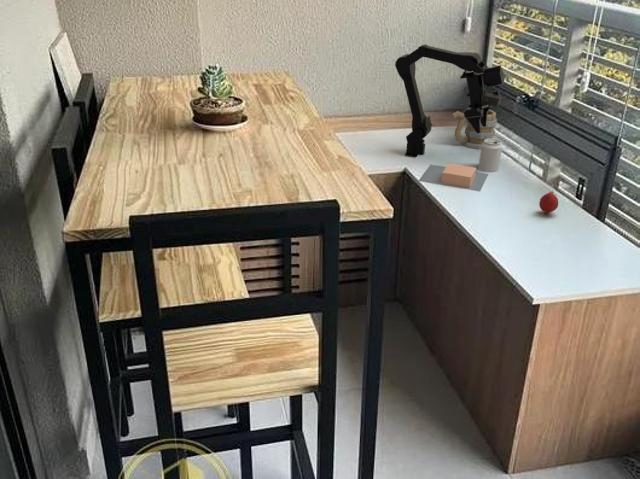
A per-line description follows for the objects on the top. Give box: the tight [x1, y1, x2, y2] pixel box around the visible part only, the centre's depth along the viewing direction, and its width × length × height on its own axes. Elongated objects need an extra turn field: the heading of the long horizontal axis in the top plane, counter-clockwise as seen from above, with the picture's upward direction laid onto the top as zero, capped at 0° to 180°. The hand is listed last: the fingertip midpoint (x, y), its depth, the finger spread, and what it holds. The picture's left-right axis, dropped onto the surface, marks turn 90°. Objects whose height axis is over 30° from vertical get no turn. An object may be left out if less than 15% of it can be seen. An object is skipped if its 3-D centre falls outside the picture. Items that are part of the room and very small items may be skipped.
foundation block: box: [441, 163, 477, 188], centre depth 231 cm, size 10×10×4 cm
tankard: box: [451, 109, 498, 150], centre depth 266 cm, size 20×13×15 cm, turn 104°
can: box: [478, 138, 503, 173], centre depth 241 cm, size 8×8×12 cm
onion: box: [538, 190, 559, 215], centre depth 209 cm, size 6×6×8 cm
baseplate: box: [418, 164, 489, 192], centre depth 234 cm, size 22×18×1 cm
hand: (481, 129), depth 241 cm, fingers open, 9 cm apart
